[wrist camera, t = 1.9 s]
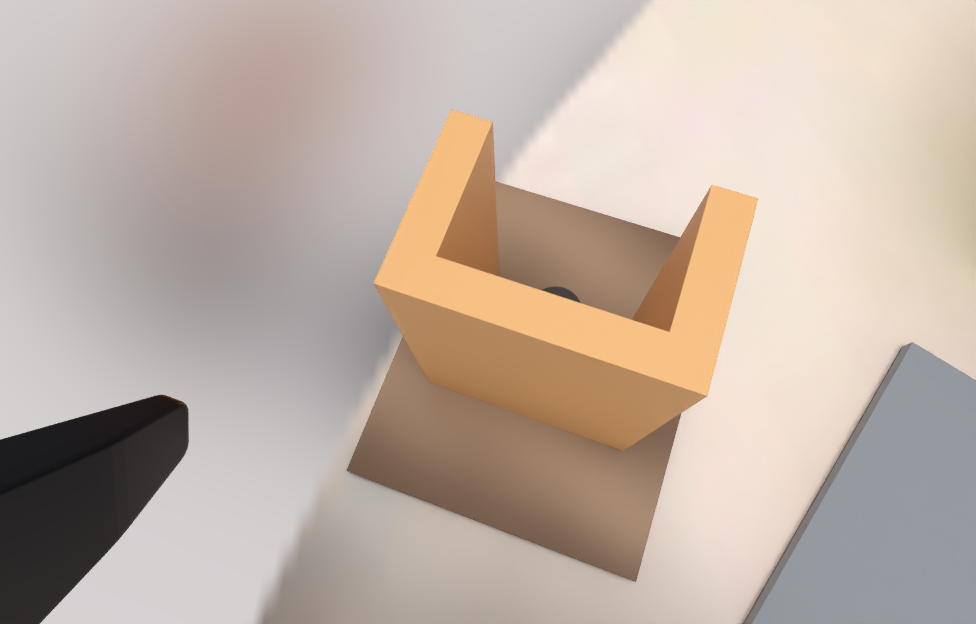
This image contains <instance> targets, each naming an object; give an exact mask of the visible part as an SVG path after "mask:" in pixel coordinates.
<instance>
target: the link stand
mask: <svg viewBox="0 0 976 624" xmlns="http://www.w3.org/2000/svg"><path fill="white" fill-rule="evenodd" d="M495 188H496V212H497V236H498V259H499V277H502V278H505V279H508V280H511V281H514V282H517V283H520V284H523V285H526V286H529V287H532V288H536V289H539V290H542V291H545V292H548V293H551V294H554V295H557V296H560V297H563V298H566V299H569V300H572V301H575V302H579V303H582V304H585V305H588V306H591V307H594V308H597V309H600V310H603V311H606V312H609V313H612V314H615V315H619V316H622V317H625V318H628V319H631V320H632V318H633V317H634V315H635V313H636V311H637V310H638V308H639V306H640V305H641V303H642V301H643V300H644V298H645V296H646V295H647V293H648V291H649V290H650V288H651V286H652V285H653V283H654V281H655V280H656V278H657V276H658V275H659V273H660V271H661V269H662V268H663V266H664V264H665V263H666V261H667V259H668V258H669V256H670V254H671V253H672V251H673V249H674V248H675V246H676V244H677V243H678V241H679V239H680V237H677V236H673V235H670V234H667V233H664V232H660V231H657V230H654V229H650V228H647V227H644V226H640V225H637V224H634V223H631V222H627V221H624V220H621V219H617V218H614V217H611V216H608V215H604V214H601V213H598V212H594V211H591V210H588V209H584V208H581V207H578V206H575V205H571V204H568V203H565V202H561V201H558V200H555V199H551V198H548V197H545V196H542V195H538V194H535V193H532V192H528V191H525V190H522V189H519V188H515V187H512V186H509V185H505V184H502V183H499V182H495ZM680 415H681V413H680V414H679V415H677V416H676V417H674V418H673V419H671V420H670V421H668V422H667V423H665V424H664V425H662V426H660V427H659V428H657V429H656V430H654V431H653V432H651V433H650V434H648V435H647V436H645V437H644V438H642V439H641V440H639V441H637V442H636V443H634V444H633V445H631V446H630V447H628V448H627V449H625V450H624V451H621V450H619V449H616V448H613V447H610V446H607V445H605V444H602V443H599V442H596V441H593V440H591V439H588V438H585V437H582V436H579V435H576V434H574V433H571V432H568V431H565V430H562V429H560V428H557V427H554V426H551V425H548V424H546V423H543V422H540V421H537V420H534V419H532V418H529V417H526V416H523V415H520V414H517V413H515V412H512V411H509V410H506V409H503V408H501V407H498V406H495V405H492V404H489V403H487V402H484V401H481V400H478V399H475V398H472V397H470V396H467V395H464V394H461V393H458V392H456V391H453V390H450V389H447V388H444V387H442V386H439V385H436V384H433V383H430V382H429V381H428V379H427V377H426V376H425V374H424V372H423V370H422V369H421V367H420V365H419V363H418V361H417V360H416V358H415V356H414V354H413V353H412V351H411V349H410V347H409V346H408V344H407V342H406V340H405V338H404V337H403V338H402V340H401V343H400V345H399V347H398V350H397V352H396V354H395V357H394V359H393V362H392V364H391V366H390V369H389V371H388V373H387V376H386V378H385V381H384V383H383V385H382V388H381V390H380V392H379V395H378V397H377V400H376V402H375V404H374V407H373V409H372V411H371V414H370V416H369V419H368V421H367V423H366V426H365V428H364V430H363V433H362V435H361V438H360V440H359V442H358V445H357V447H356V449H355V452H354V454H353V457H352V459H351V461H350V464H349V466H348V468H347V471H349V472H351V473H354V474H356V475H359V476H362V477H364V478H367V479H369V480H372V481H375V482H377V483H380V484H382V485H385V486H388V487H390V488H393V489H395V490H398V491H401V492H403V493H406V494H408V495H411V496H414V497H416V498H419V499H421V500H424V501H427V502H429V503H432V504H434V505H437V506H440V507H442V508H445V509H447V510H450V511H453V512H455V513H458V514H460V515H463V516H466V517H468V518H471V519H473V520H476V521H479V522H481V523H484V524H486V525H489V526H492V527H494V528H497V529H499V530H502V531H505V532H507V533H510V534H512V535H515V536H518V537H520V538H523V539H525V540H528V541H531V542H533V543H536V544H538V545H541V546H544V547H546V548H549V549H552V550H554V551H557V552H559V553H562V554H565V555H567V556H570V557H572V558H575V559H578V560H580V561H583V562H585V563H588V564H591V565H593V566H596V567H598V568H601V569H604V570H606V571H609V572H611V573H614V574H617V575H619V576H622V577H624V578H627V579H630V580H632V581H635V582H636V579H637V576H638V572H639V568H640V564H641V561H642V557H643V553H644V550H645V546H646V542H647V538H648V535H649V531H650V527H651V523H652V520H653V516H654V512H655V509H656V505H657V501H658V497H659V494H660V490H661V486H662V483H663V479H664V475H665V471H666V468H667V464H668V460H669V456H670V453H671V449H672V445H673V442H674V438H675V434H676V430H677V427H678V423H679V419H680Z"/></svg>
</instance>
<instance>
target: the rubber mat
mask: <svg viewBox="0 0 976 624" xmlns="http://www.w3.org/2000/svg"><path fill="white" fill-rule="evenodd" d="M744 624H976V380H974V379H972V378H971V377H969V376H967V375H966V374H964V373H963V372H961V371H959V370H958V369H956V368H954V367H953V366H951V365H949V364H948V363H946V362H944V361H943V360H941V359H939V358H938V357H936V356H934V355H933V354H931V353H930V352H928V351H926V350H925V349H923V348H921V347H920V346H918V345H916V344H915V343H913V342H912V343H910V344H908V345H906V346H903V347H902V349H901V350H900V352H899V354H898V356H897V357H896V359H895V361H894V362H893V364H892V366H891V368H890V369H889V371H888V373H887V375H886V376H885V378H884V380H883V382H882V383H881V385H880V387H879V389H878V390H877V392H876V394H875V396H874V397H873V399H872V401H871V403H870V404H869V406H868V408H867V410H866V411H865V413H864V415H863V417H862V418H861V420H860V422H859V423H858V425H857V427H856V429H855V430H854V432H853V434H852V436H851V437H850V439H849V441H848V443H847V444H846V446H845V448H844V450H843V451H842V453H841V455H840V457H839V458H838V460H837V462H836V464H835V465H834V467H833V469H832V471H831V472H830V474H829V476H828V478H827V479H826V481H825V483H824V485H823V486H822V488H821V490H820V491H819V493H818V495H817V497H816V498H815V500H814V502H813V504H812V505H811V507H810V509H809V511H808V512H807V514H806V516H805V518H804V519H803V521H802V523H801V525H800V526H799V528H798V530H797V532H796V533H795V535H794V537H793V539H792V540H791V542H790V544H789V546H788V547H787V549H786V551H785V553H784V554H783V556H782V558H781V559H780V561H779V563H778V565H777V566H776V568H775V570H774V572H773V573H772V575H771V577H770V579H769V580H768V582H767V584H766V586H765V587H764V589H763V591H762V593H761V594H760V596H759V598H758V600H757V601H756V603H755V605H754V607H753V608H752V610H751V612H750V614H749V615H748V617H747V619H746V621H745V622H744Z"/></svg>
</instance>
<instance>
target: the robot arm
mask: <svg viewBox="0 0 976 624" xmlns="http://www.w3.org/2000/svg"><path fill="white" fill-rule="evenodd" d="M188 430H189V429H188V408H187V405H186V404H185V403H184V402H182V401H179V400H176V399H174V398H171V397H168V396H166V395H157V396H153V397H150V398H146V399H142V400H139V401H136V402H132V403H128V404H125V405H121V406H118V407H114V408H111V409H107V410H104V411H100V412H96V413H93V414H89V415H86V416H82V417H79V418H75V419H72V420H68V421H65V422H61V423H57V424H54V425H50V426H47V427H43V428H40V429H36V430H33V431H29V432H26V433H22V434H19V435H15V436H11V437H8V438H4V439H1V440H0V624H40V623H41V622H42V621H43V619H45V617H46V616H47V615H48V614H49V613H50V612H51V611H52V610H53V609H54V608H55V607H56V606H57V605H58V604H59V602H61V601H62V599H63V598H64V597H65V596H66V595H67V594H68V593H69V592H70V591H71V590H72V589H73V588H74V587H75V586H76V585H77V584H78V582H80V580H81V579H82V578H83V577H84V576H85V575H86V574H87V573H88V572H89V571H90V570H91V569H92V567H94V566H95V564H97V562H98V561H99V560H100V559H101V558H102V557H103V556H104V555H105V554H106V553H107V552H108V551H109V550H110V549H111V547H112V546H113V545H114V544H115V543H116V542H117V541H118V540H119V539H120V537H121V536H122V535H123V534H124V532H125V531H126V530H127V529H128V528H129V526H130V525H131V524H132V523H133V521H134V520H135V519H136V517H137V516H138V515H139V514H140V512H141V511H142V510H143V509H144V507H145V506H146V505H147V503H148V502H149V501H150V500H151V498H152V497H153V496H154V494H155V493H156V491H157V490H158V489H159V488H160V487H161V485H162V484H163V483H164V481H165V480H166V479H167V478H168V476H169V475H170V473H171V472H172V471H173V470H174V468H175V467H176V466H177V465H178V463H179V462H180V461H181V459H182V458H183V456H184V455H185V453H186V450H187V447H188V442H189V435H188V433H189V432H188Z"/></svg>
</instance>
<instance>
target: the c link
mask: <svg viewBox="0 0 976 624" xmlns="http://www.w3.org/2000/svg"><path fill="white" fill-rule="evenodd" d="M493 141H494V140H493V122H492V121H489V120H486V119H482V118H479V117H475V116H472V115H469V114H465V113H462V112H458V111H455V110H451V112H450V114H449V116H448V118H447V121H446V123H445V125H444V128H443V130H442V132H441V134H440V136H439V139H438V141H437V143H436V145H435V148H434V150H433V152H432V154H431V156H430V159H429V161H428V163H427V165H426V168H425V170H424V172H423V174H422V176H421V179H420V181H419V183H418V185H417V188H416V190H415V192H414V194H413V197H412V199H411V201H410V203H409V205H408V208H407V210H406V212H405V214H404V217H403V219H402V221H401V223H400V226H399V228H398V230H397V232H396V235H395V237H394V239H393V241H392V243H391V246H390V248H389V250H388V252H387V255H386V257H385V259H384V261H383V263H382V266H381V268H380V270H379V272H378V275H377V277H376V279H375V281H374V285H375V287H376V289H377V291H378V292H379V294H380V296H381V297H382V299H383V301H384V303H385V305H386V306H387V308H388V310H389V312H390V314H391V315H392V317H393V319H394V321H395V322H396V324H397V326H398V328H399V330H400V331H401V333H402V335H403V337H404V338H405V340H406V342H407V344H408V346H409V347H410V349H411V351H412V353H413V354H414V356H415V358H416V360H417V361H418V363H419V365H420V367H421V369H422V370H423V372H424V374H425V376H426V377H427V379H428V381H429V382H430V383H433V384H436V385H439V386H442V387H444V388H447V389H450V390H453V391H456V392H458V393H461V394H464V395H467V396H470V397H472V398H475V399H478V400H481V401H484V402H487V403H489V404H492V405H495V406H498V407H501V408H503V409H506V410H509V411H512V412H515V413H517V414H520V415H523V416H526V417H529V418H532V419H534V420H537V421H540V422H543V423H546V424H548V425H551V426H554V427H557V428H560V429H562V430H565V431H568V432H571V433H574V434H576V435H579V436H582V437H585V438H588V439H591V440H593V441H596V442H599V443H602V444H605V445H607V446H610V447H613V448H616V449H619V450H621V451H624V450H625V449H627V448H628V447H630V446H631V445H633V444H634V443H636V442H637V441H639V440H641V439H642V438H644V437H645V436H647V435H648V434H650V433H651V432H653V431H654V430H656V429H657V428H659V427H660V426H662V425H664V424H665V423H667V422H668V421H670V420H671V419H673V418H674V417H676V416H677V415H679V414H680V413H682V412H683V411H685V410H687V409H688V408H690V407H691V406H693V405H694V404H696V403H697V402H699V401H700V400H702V399H703V398H705V397H706V396H707V395H708V392H709V388H710V384H711V380H712V376H713V372H714V368H715V364H716V361H717V357H718V353H719V349H720V345H721V341H722V337H723V333H724V329H725V326H726V322H727V318H728V314H729V310H730V306H731V302H732V298H733V295H734V291H735V287H736V283H737V279H738V275H739V271H740V267H741V264H742V260H743V256H744V252H745V248H746V244H747V240H748V236H749V233H750V229H751V225H752V221H753V217H754V213H755V209H756V205H757V202H758V198H755V197H752V196H748V195H745V194H741V193H738V192H735V191H731V190H728V189H724V188H721V187H717V186H714V185H711V187H710V189H709V190H708V192H707V194H706V195H705V197H704V199H703V201H702V202H701V204H700V206H699V207H698V209H697V211H696V212H695V214H694V216H693V217H692V219H691V221H690V222H689V224H688V226H687V227H686V229H685V231H684V232H683V234H682V236H681V238H680V239H679V241H678V243H677V244H676V246H675V248H674V249H673V251H672V253H671V254H670V256H669V258H668V259H667V261H666V263H665V264H664V266H663V268H662V269H661V271H660V273H659V275H658V276H657V278H656V280H655V281H654V283H653V285H652V286H651V288H650V290H649V291H648V293H647V295H646V296H645V298H644V300H643V301H642V303H641V305H640V306H639V308H638V310H637V311H636V313H635V315H634V317H633V318H632V320H631V319H628V318H625V317H622V316H619V315H615V314H612V313H609V312H606V311H603V310H600V309H597V308H594V307H591V306H588V305H585V304H582V303H579V302H575V301H572V300H569V299H566V298H563V297H560V296H557V295H554V294H551V293H548V292H545V291H542V290H539V289H536V288H532V287H529V286H526V285H523V284H520V283H517V282H514V281H511V280H508V279H505V278H502V277H499V259H498V236H497V212H496V188H495V165H494V142H493Z"/></svg>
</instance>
